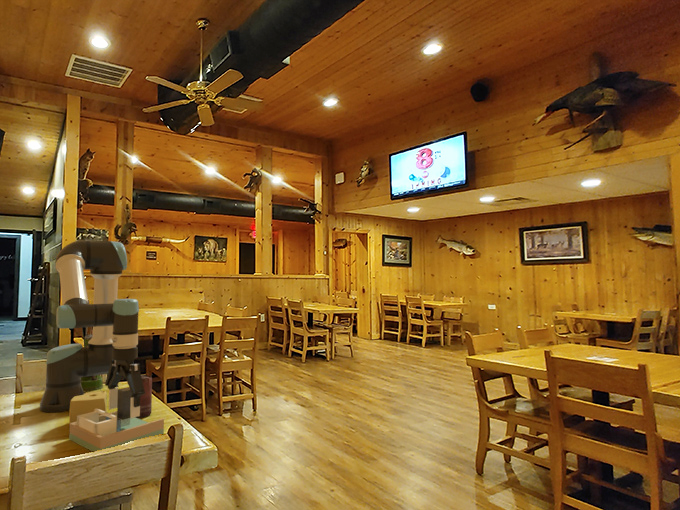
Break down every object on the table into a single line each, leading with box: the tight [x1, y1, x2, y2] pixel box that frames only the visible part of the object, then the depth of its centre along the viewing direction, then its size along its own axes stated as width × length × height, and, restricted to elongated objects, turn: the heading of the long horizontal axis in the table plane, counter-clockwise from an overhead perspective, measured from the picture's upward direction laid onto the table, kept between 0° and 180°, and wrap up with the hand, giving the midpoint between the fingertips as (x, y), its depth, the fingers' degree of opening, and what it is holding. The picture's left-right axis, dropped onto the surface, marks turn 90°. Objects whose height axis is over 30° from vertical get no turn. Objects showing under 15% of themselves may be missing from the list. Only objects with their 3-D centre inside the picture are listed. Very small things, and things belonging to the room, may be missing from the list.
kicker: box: [106, 386, 132, 432], centre depth 142 cm, size 7×6×12 cm
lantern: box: [81, 327, 104, 393], centre depth 197 cm, size 14×11×30 cm
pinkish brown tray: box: [68, 410, 165, 452], centre depth 141 cm, size 20×20×5 cm
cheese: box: [68, 390, 108, 424], centre depth 152 cm, size 10×11×10 cm
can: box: [135, 375, 153, 419], centre depth 162 cm, size 6×6×14 cm
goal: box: [77, 408, 117, 436], centre depth 136 cm, size 12×6×7 cm, turn 54°
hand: (123, 412), depth 143 cm, fingers open, 13 cm apart
